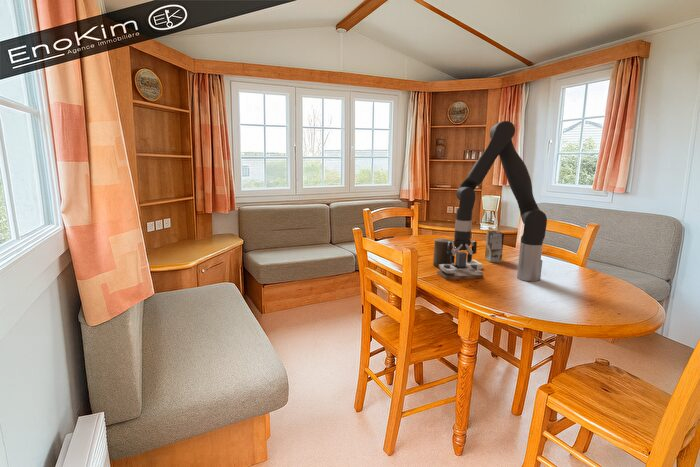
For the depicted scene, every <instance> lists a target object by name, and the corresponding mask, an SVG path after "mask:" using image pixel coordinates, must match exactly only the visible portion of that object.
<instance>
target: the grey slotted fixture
mask: <svg viewBox="0 0 700 467" xmlns="http://www.w3.org/2000/svg"><path fill="white" fill-rule="evenodd" d="M437 268H439V269H438V270H436V273H437V274H438V275H439V276H440V277H441V278H443V279H444V280H445V281H447V280H448V281H449V280H465V279H466V280H467V279H471V280H472V279H483V278H484V273H483V271H482V270H481V269H477V265H476V264H471V266H469V265H467V264H466V268H461V269H457V268H456V267H455V263H452V264H439V266H438V267H437Z"/></svg>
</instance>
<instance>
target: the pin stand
mask: <svg viewBox="0 0 700 467" xmlns="http://www.w3.org/2000/svg"><path fill="white" fill-rule="evenodd" d="M466 264H467V265H469V266H471V264H476V265H477V269H479V270H482V269H483V263H481V262H479V261H478V260H476V259H472V261H471V262H470V263H469V262H467V259H466Z"/></svg>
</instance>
